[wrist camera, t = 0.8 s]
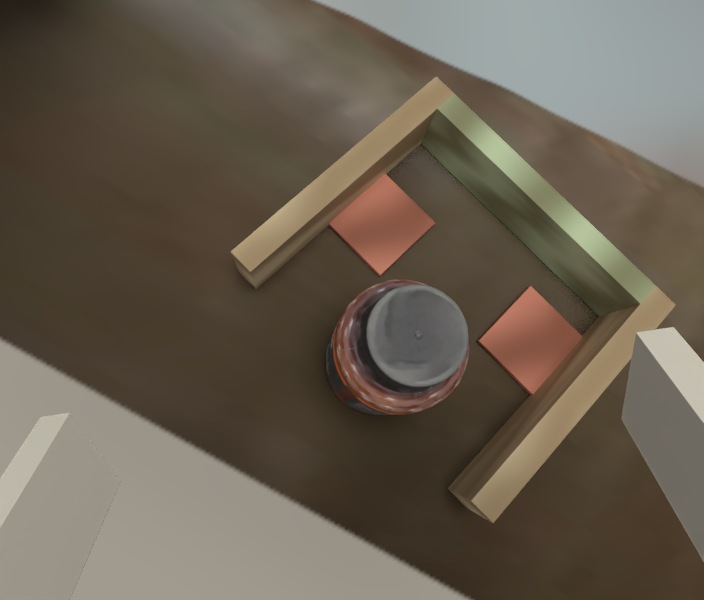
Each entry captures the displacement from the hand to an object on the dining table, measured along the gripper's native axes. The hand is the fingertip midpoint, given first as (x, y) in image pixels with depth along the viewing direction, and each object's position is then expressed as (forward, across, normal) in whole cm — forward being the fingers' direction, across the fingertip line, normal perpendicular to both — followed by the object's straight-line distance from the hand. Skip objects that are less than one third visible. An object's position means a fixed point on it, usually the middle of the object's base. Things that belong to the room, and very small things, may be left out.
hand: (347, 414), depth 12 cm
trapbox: (+17, +4, -9) cm, 20 cm away
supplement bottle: (+14, -1, -11) cm, 18 cm away
